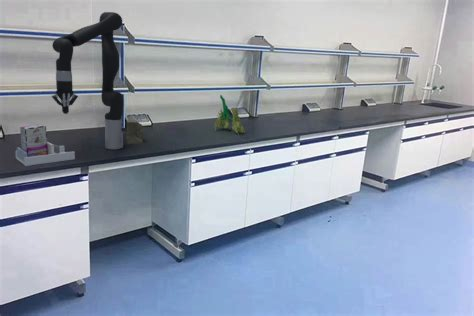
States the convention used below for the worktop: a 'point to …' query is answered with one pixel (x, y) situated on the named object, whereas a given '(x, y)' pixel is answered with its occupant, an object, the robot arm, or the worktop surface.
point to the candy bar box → (34, 140)
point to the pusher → (52, 148)
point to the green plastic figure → (225, 122)
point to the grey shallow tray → (43, 157)
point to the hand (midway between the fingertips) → (65, 113)
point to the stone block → (134, 132)
